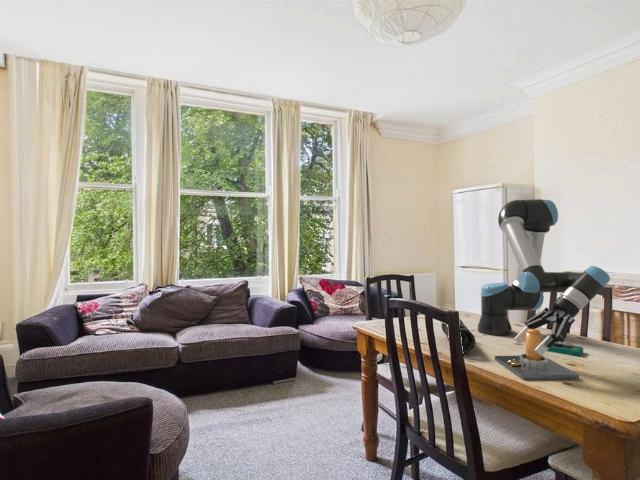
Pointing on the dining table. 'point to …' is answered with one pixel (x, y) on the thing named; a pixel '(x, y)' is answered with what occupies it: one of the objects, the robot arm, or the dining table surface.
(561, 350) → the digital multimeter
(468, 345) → the muzzle brake
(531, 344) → the orange cylinder
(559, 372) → the plate
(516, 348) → the dining table surface
